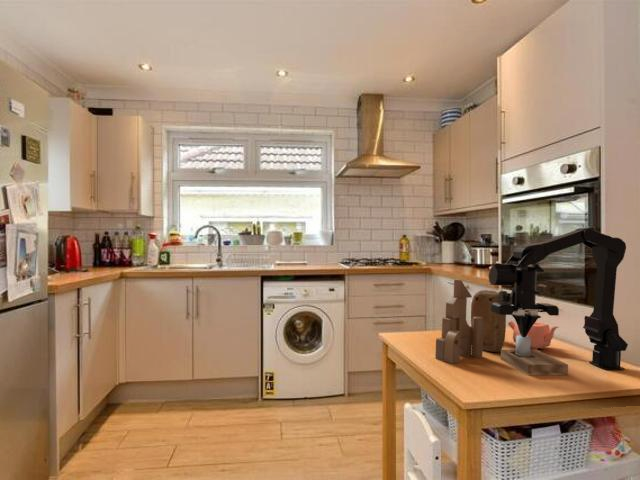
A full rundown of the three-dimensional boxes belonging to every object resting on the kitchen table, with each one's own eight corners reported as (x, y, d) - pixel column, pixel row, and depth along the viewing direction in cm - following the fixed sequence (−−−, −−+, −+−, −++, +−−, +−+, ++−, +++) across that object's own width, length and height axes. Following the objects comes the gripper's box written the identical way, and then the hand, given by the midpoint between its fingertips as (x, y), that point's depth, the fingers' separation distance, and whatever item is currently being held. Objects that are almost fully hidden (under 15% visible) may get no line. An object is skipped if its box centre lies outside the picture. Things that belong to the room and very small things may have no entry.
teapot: (511, 349, 134) (512, 320, 134) (506, 340, 146) (507, 313, 145) (558, 354, 130) (559, 324, 130) (549, 345, 141) (550, 317, 141)
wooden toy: (452, 364, 116) (455, 282, 116) (435, 358, 122) (437, 279, 121) (484, 357, 124) (487, 280, 124) (466, 351, 130) (469, 277, 130)
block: (507, 351, 132) (509, 292, 132) (495, 354, 128) (497, 294, 127) (477, 343, 141) (480, 288, 140) (465, 346, 136) (467, 289, 136)
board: (536, 359, 124) (536, 349, 124) (567, 375, 110) (568, 364, 110) (500, 358, 123) (501, 349, 123) (527, 375, 109) (528, 364, 109)
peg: (524, 360, 121) (525, 335, 121) (533, 365, 117) (534, 338, 116) (512, 360, 120) (513, 334, 120) (519, 364, 116) (521, 338, 116)
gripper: (537, 283, 127) (535, 330, 127) (482, 282, 125) (481, 329, 126) (561, 288, 116) (559, 339, 116) (501, 287, 114) (499, 339, 114)
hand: (523, 336), depth 118 cm, fingers closed, pressing on peg
